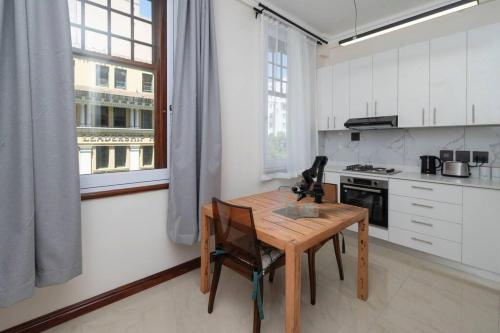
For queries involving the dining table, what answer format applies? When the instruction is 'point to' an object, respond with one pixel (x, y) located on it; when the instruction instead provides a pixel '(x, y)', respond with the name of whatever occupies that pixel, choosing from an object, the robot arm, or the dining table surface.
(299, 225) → the dining table surface
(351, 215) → the dining table surface
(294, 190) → the robot arm
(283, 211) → the mat
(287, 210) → the stack of blocks
